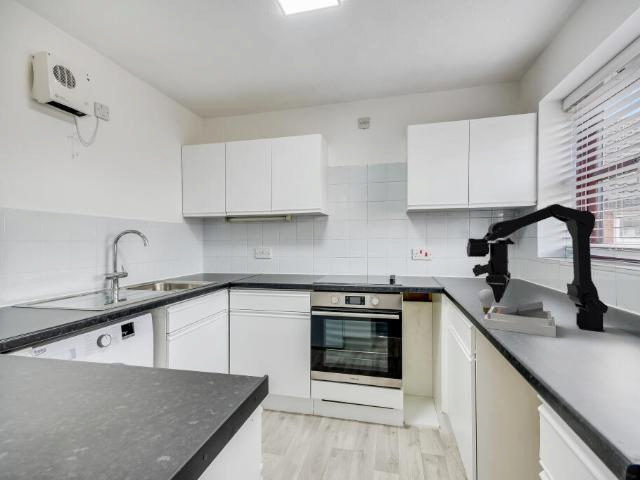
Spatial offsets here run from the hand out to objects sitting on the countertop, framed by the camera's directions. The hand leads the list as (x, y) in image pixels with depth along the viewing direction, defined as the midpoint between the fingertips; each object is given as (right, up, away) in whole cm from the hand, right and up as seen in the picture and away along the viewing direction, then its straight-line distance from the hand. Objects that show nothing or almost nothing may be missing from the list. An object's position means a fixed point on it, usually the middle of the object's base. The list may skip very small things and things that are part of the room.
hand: (498, 300), depth 115 cm
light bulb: (+4, -9, +16) cm, 18 cm away
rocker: (+5, -3, -4) cm, 7 cm away
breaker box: (+5, -8, -3) cm, 10 cm away
